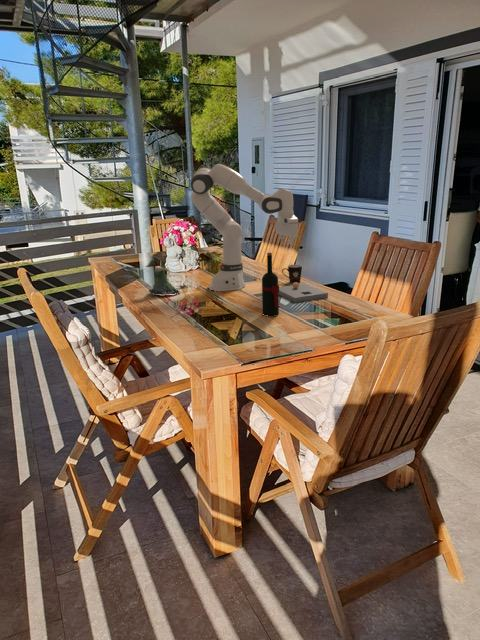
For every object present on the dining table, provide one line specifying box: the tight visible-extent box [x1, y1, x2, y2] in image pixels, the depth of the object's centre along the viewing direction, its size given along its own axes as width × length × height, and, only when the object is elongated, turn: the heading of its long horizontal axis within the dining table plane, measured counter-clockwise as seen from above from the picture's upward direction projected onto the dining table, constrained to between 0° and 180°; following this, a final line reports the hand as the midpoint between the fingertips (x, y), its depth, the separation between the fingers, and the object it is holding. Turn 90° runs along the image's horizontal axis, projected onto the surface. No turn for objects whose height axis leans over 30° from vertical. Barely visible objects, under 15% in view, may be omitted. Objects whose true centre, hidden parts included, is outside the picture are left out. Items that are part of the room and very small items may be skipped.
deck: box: [278, 283, 329, 303], centre depth 265 cm, size 20×25×2 cm
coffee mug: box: [281, 264, 303, 284], centre depth 294 cm, size 12×9×10 cm
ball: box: [292, 282, 300, 288], centre depth 269 cm, size 4×4×4 cm
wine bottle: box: [261, 252, 280, 317], centre depth 227 cm, size 8×10×30 cm
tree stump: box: [148, 267, 179, 294], centre depth 278 cm, size 18×20×18 cm
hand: (286, 243), depth 274 cm, fingers open, 8 cm apart
